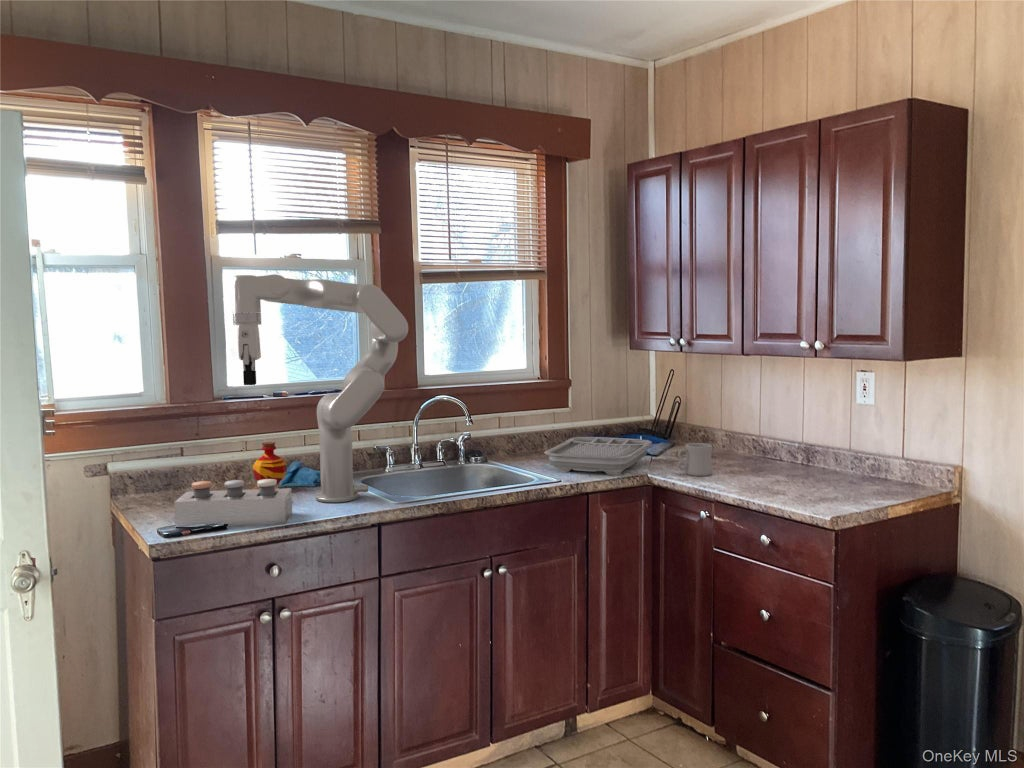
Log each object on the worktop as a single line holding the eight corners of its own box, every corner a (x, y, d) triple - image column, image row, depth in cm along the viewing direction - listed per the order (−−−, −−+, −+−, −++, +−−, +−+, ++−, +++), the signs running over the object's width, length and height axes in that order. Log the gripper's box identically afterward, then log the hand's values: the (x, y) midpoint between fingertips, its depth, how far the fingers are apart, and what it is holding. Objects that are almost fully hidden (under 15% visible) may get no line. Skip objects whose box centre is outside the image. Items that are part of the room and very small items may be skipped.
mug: (704, 470, 282) (704, 442, 281) (717, 475, 274) (717, 446, 273) (671, 472, 279) (671, 443, 278) (683, 478, 270) (683, 448, 269)
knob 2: (278, 507, 224) (277, 478, 223) (275, 511, 219) (274, 482, 218) (260, 508, 224) (259, 479, 223) (256, 512, 219) (255, 483, 218)
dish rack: (538, 473, 281) (538, 450, 280) (574, 455, 314) (574, 435, 314) (627, 480, 268) (628, 456, 268) (655, 461, 302) (655, 439, 301)
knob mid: (246, 508, 223) (245, 479, 222) (243, 513, 218) (242, 483, 217) (228, 509, 223) (226, 480, 222) (223, 513, 218) (222, 484, 217)
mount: (292, 512, 228) (291, 488, 228) (285, 523, 216) (284, 497, 216) (187, 516, 225) (186, 491, 224) (175, 528, 213) (174, 501, 212)
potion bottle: (250, 488, 260) (248, 441, 258) (283, 485, 265) (282, 439, 263) (256, 495, 251) (254, 446, 249) (290, 491, 255) (289, 443, 254)
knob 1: (214, 509, 222) (213, 480, 221) (210, 514, 217) (208, 484, 216) (195, 510, 221) (194, 481, 221) (190, 515, 217) (189, 485, 216)
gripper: (257, 319, 222) (260, 386, 224) (264, 319, 237) (267, 382, 239) (228, 320, 221) (231, 387, 223) (237, 319, 236) (240, 382, 237)
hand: (250, 384), depth 231 cm, fingers closed
